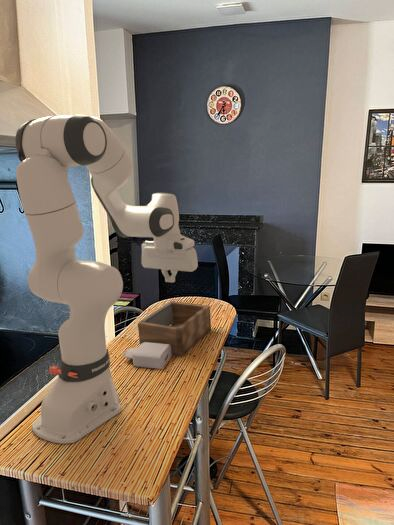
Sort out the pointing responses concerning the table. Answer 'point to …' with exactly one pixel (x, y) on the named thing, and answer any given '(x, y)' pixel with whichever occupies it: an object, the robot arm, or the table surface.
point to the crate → (179, 328)
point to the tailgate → (161, 316)
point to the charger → (149, 355)
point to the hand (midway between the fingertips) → (170, 281)
